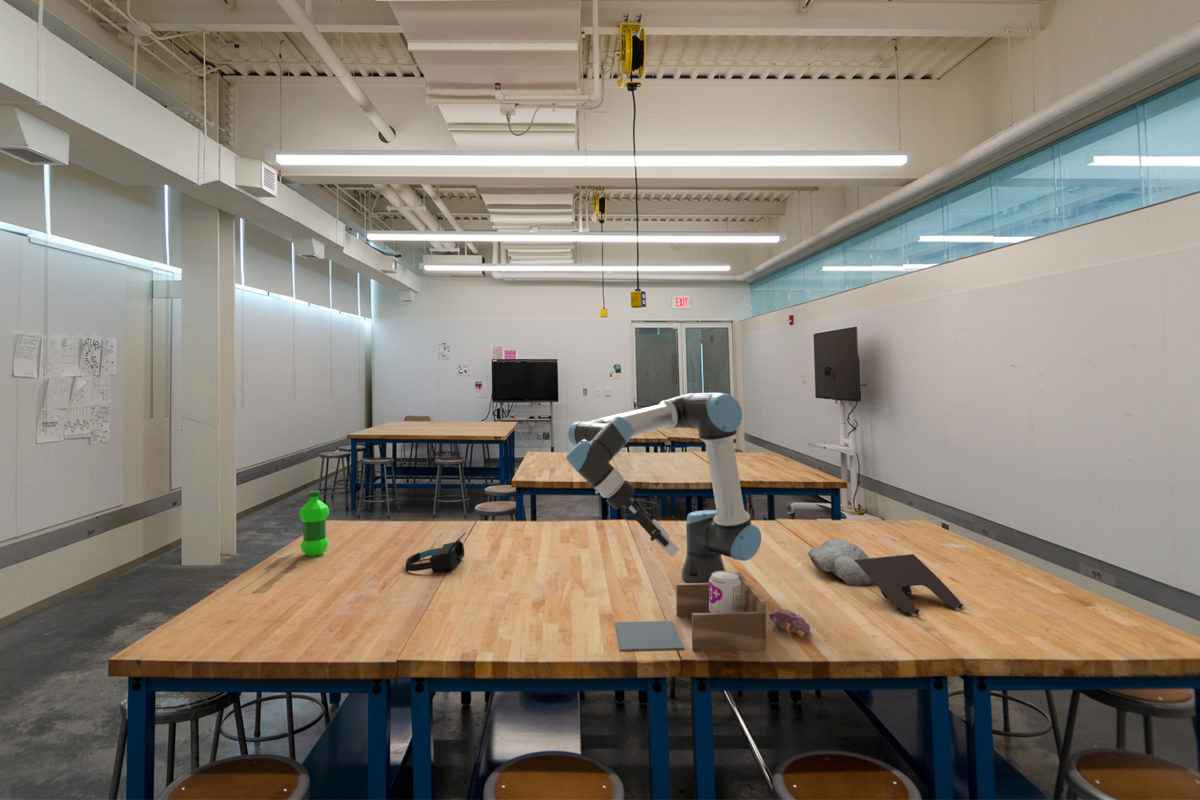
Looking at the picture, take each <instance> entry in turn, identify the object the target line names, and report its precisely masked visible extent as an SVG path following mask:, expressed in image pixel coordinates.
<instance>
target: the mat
mask: <svg viewBox="0 0 1200 800" xmlns="http://www.w3.org/2000/svg"><path fill="white" fill-rule="evenodd" d="M614 625H615V631H616V637H617V641H618V647H619V652H622V651H627V652H628V651H665V650H667V651H668V650H685V647H684V644H683V643H682V640H681V637H680V635H679V633H678V630H677V628H676V625H675V623H674V621H673V620H657V621H656V620H654V621H653V620H652V621H650V620H649V621H615V623H614Z"/></svg>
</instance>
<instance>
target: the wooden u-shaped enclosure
mask: <svg viewBox="0 0 1200 800" xmlns="http://www.w3.org/2000/svg"><path fill="white" fill-rule="evenodd" d="M734 573H736V574H737V575H738V578H739V580H740V582H741V612H723V613H709V583H688V582H684V583H681V582H679V583H676V585H675V586H676V587H675V588H676V589H675V590H676V591H675V593H676V596H675V597H676V599H675V601H676V603H675V605H676V606H675V607H676V608H675V609H676V611H675V612H676V613H675V614H676V616H677V617H691V641H692V642H691V650H692V652H712V651H714V652H717V651H718V652H719V651H722V652H723V651H757V650H758V651H759V650H761V651H763V650H766V649H767V647H766V646H767V640H766V639H767V633H766V631H767V619H766V617H767V612H766V611H767V608H766V607H767V601H766V600H765V599H764V598H763V597H762V596H761V594H759V592H758V591H757V590H756V589H755V588H754V587H753V586H752V585H751V583H750V582H749V581H748V580H747V579H746V578H745V577H744V575H742V574H741V572H739V571H734Z"/></svg>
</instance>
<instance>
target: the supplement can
mask: <svg viewBox="0 0 1200 800" xmlns="http://www.w3.org/2000/svg"><path fill="white" fill-rule="evenodd" d="M723 612H741V582H740V580H739V578H738V575H737V574H736V573H735V572H732V571H728V570H726V571H716V572H713V573H712V575H711V577H710V579H709V613H723Z"/></svg>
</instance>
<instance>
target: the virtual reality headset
mask: <svg viewBox="0 0 1200 800" xmlns="http://www.w3.org/2000/svg"><path fill="white" fill-rule="evenodd" d="M466 533H467V532H464V533H463V534H462V535H461V536H460V537H459V538H458V539H457V540H455V541H454V542H450V543H449V542H448V543H444V544H443V545H442V547H438V548H433V549H428V550H425V551H421V552H417V553H415V554H412V555H410V556H409V557H407V559H406V561H405V571H406V572H407V571H409V572H418V571H424V570H430V569H431V571H432V572H434V573H441V572H448V571H453V569H454V568H455V567H456V566H457V565H458V564H459V562H460V561H461V560H462V559H463V558H464V557H465V547H464V543H463V542H462V541H461V539H462V538H463V537H464V536H465V535H466ZM427 557H430V558H429V559H430V560H429V561H426V562H421V563H419V561H420V560H421V559H423V558H427ZM416 562H418V563H416Z"/></svg>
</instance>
